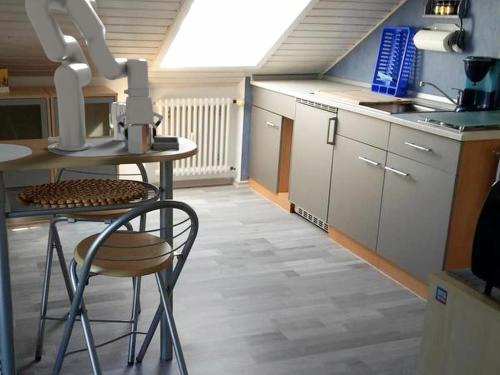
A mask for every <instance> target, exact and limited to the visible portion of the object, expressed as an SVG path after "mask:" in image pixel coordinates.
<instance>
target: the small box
mask: <svg viewBox="0 0 500 375" xmlns="http://www.w3.org/2000/svg"><path fill="white" fill-rule="evenodd" d="M149 126H150V124H130V125H129V126H128V149H127V150H128V153H129V154H137V155H142V154H145V153H147V152H148V151H150V146H149Z"/></svg>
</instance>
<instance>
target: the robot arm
mask: <svg viewBox="0 0 500 375" xmlns="http://www.w3.org/2000/svg"><path fill="white" fill-rule="evenodd" d="M24 6H25V11H26V14H27V17H28V19H29V21H30V23H31V25H32V27H33V29H34V31H35V34H36V36H37V38H38V40H39V42H40V45H41V46H42V48H43V51H44V52H45V55H46V57H47V58H48V60H50V61H52V62H55V63H58V62H59V63H60V62H61V65H60V66H58V67H57V68H56V70H55V72H54V76H53V82H54V85H55V86H54V87H55V91H56V97H57V111H58V125H59V126H58V129H59V135H58V136H54V137H53V136H48V138H47V142H48V143H53V144H55V143H56V144H55V146H56V149H57V150H59V151H64V152H65V151H66V152H67V151H74V152H75V151H84V150H87V149H89V148H91V143H90V142H87V138H86V132H87V131H86V116H85V115H86V113H85V112H86V111H85V99H84V94H83V88H84V87H86V86H87V85H89V83H90V82H91V81H92V69H91V67H90V65H89V62H88V61H87V58H86V56H85V54H84V52H83V50H82V47H81V45H80V43H79V42H78V40H76V38H74V37H73V36H71V35H68V34H64V33H63V32H62V30H61V28H60V25H59V23H58V21H57V20H56V18H55V16H54V15H53V14H52V11H51V10H58V11H62V12H66V13H68V15H69V17H70V18H71V20H72V21H73V23H74V25H75V27H76V28H77V30H78V31H79V32H80V34H81V36H82V37H83V39H84V41H85V43H86V47H87V52H88V54H89V56H90V58H91V61H92V62H93V64H94V65H95V67H96V69H97V70H98V72H99V73H100V74H101V76H102V77H104V78H105V79H107V80H109V81H116V80H119V79H124V78H127V89H124V90H123V94H125V95H127V96H126V98H125V103H126V105H125V113H123V114H121V115H119V116H117V117H116V120H117V121H118V123H119V125H120V126H122V127H123V128H124V133H125V137H127V140H128V126H129V125H132V124H149V125H150V126H151V134H152V140H153V139H155V137H157V129H158V127H159V126H160V125H161V124H162V121H163V119H164V115H162V114H160V113H158V112H155V111H154V106H153V100H152V96H150V89H149V88H150V86H149V68H148V66H149V65H148V61H147V59H145V58H125V57H114V55H113V54H112V52H111V50H110V49H109V47H108V45H107V42H106V34H107V29H106V26H105V25H104V23H103V22H102V20H101V19H100V17H99V16H98V14H97V13H96V12H97V9H98V5H97V1H96V0H25V5H24ZM82 87H83V88H82ZM125 116H126V124H124V123H123V122H122V121H121V118H123V117H125ZM154 117H156V118H158V120H157V121H156V122H155V120H154Z"/></svg>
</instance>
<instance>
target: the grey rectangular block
mask: <svg viewBox="0 0 500 375" xmlns="http://www.w3.org/2000/svg"><path fill="white" fill-rule="evenodd" d="M149 146H150V149H151V150H152V148H153V143H152V125H149ZM124 149H125V150H129V149H128V140H127V137H125V141H124Z"/></svg>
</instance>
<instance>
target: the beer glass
mask: <svg viewBox="0 0 500 375" xmlns="http://www.w3.org/2000/svg"><path fill="white" fill-rule="evenodd" d="M125 105H126V101H125V102H123V101H118V102H116V101H115V102H111V106H110V107H111V112H110V114H111V122H112V126H113V141H114V140H115V142H125V133H124V128H123V127H122V126H120V125H119V123H118V121H117V120H116V117H117V116H119V115H121V114H123V113H125ZM121 121H122V122H123V123H124V124H126V116H125V117H123V118H121Z"/></svg>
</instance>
